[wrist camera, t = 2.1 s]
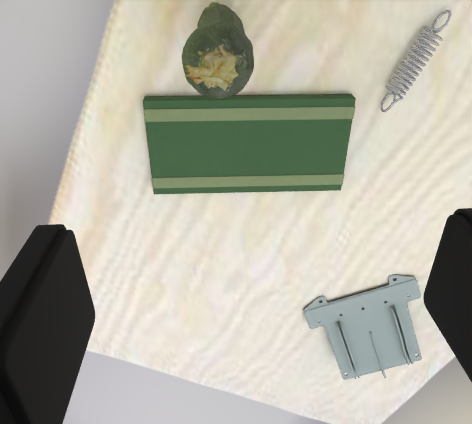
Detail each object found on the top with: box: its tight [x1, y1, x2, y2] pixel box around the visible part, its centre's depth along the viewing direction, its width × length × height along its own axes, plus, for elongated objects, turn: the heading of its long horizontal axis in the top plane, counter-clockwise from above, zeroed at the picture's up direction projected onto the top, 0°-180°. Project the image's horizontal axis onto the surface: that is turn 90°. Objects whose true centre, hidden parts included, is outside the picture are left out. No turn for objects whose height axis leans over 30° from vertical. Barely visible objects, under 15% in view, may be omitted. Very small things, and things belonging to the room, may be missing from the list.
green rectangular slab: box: [143, 94, 355, 194], centre depth 41 cm, size 10×20×2 cm, turn 90°
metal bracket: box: [304, 275, 422, 380], centre depth 56 cm, size 14×6×15 cm
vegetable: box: [182, 2, 254, 99], centre depth 28 cm, size 4×4×20 cm
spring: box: [381, 10, 451, 112], centre depth 38 cm, size 10×2×2 cm, turn 155°
